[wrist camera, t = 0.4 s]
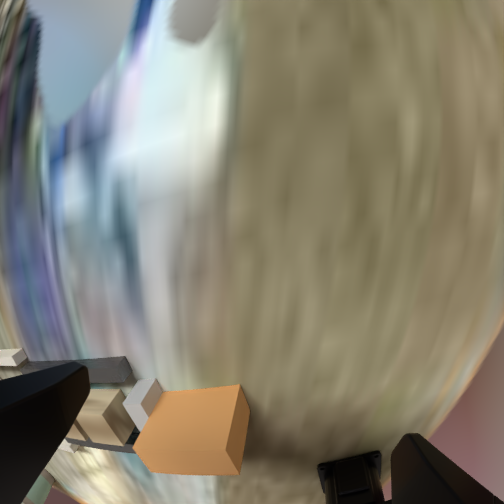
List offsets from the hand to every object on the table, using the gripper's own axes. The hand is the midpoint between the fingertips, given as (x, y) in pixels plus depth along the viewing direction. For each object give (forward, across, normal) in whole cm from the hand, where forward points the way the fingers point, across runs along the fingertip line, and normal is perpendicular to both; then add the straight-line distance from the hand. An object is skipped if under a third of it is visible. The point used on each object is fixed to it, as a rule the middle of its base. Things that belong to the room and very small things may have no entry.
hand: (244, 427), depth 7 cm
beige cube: (+14, +12, +17) cm, 24 cm away
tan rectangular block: (+14, +3, +12) cm, 18 cm away
